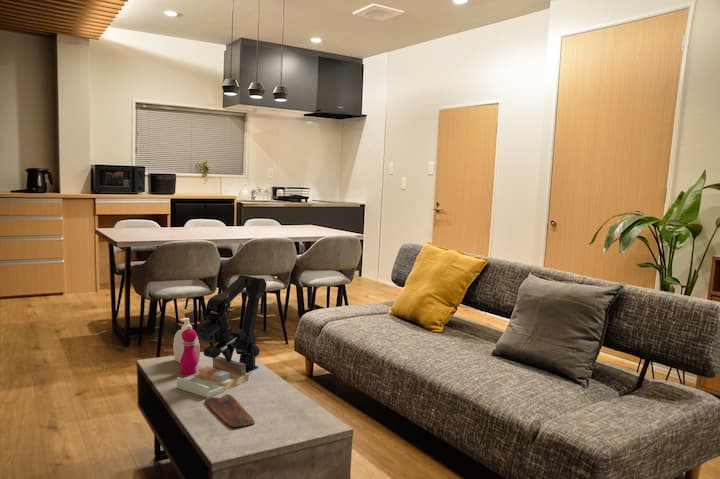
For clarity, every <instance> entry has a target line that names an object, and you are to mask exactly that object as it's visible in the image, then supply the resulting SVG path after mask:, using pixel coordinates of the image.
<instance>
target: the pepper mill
mask: <svg viewBox="0 0 720 479" xmlns="http://www.w3.org/2000/svg"><path fill="white" fill-rule="evenodd" d="M191 326H192V325H191ZM191 326H188V327H187V329H186V330H184V331H183V333H182V339H183V340H184V341H183V345H184V352H183V355H182V357H181V359H180V363H179V365H180V367H181V368H180V374H182V375H183V376H190V375H191V376H192V375H195V374H197V372H198V371H197V370H198V368H197V366H198V365H197V364H199V362H198V359H197V356H196V354H195V351H194V345H195V339H196V337H198V332H197V331H196V330H195V329H193V326H192V327H191ZM191 328H192V329H191Z"/></svg>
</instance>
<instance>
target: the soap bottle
mask: <svg viewBox="0 0 720 479" xmlns="http://www.w3.org/2000/svg"><path fill="white" fill-rule="evenodd" d="M179 321H180V322H184V323H183V325H182V326H181V328H180V329H179V330H177V331H176V333H175V334H174V338H173V342H172V343H173V344H172V345H173V346H172V348H173V355H174V361H175V362H178V363H179V364H180V359H181V357H182V355H183V352H184V345H183V341H184V340H183V339H182V333H183V331H184V330H186V329H187V327H188V326H191V327H192V328H191V329H193V326H192V325H191V324H190V318H189V317H183V318H181V319H179ZM194 351H195V354H196V356H197V359H198V364H199V363H200V362H199V361H200V357H201V347H200V340H199V336H197V337H196V339H195V345H194ZM198 364H197V365H196V366H198Z"/></svg>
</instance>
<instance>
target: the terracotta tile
mask: <svg viewBox="0 0 720 479" xmlns="http://www.w3.org/2000/svg"><path fill="white" fill-rule="evenodd" d="M198 373H199V375H200V376H203V377H206V378H207V377H210V376H213V373H215V368H213V366H208V365H206V366H204V367H201V368H198Z"/></svg>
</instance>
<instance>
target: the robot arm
mask: <svg viewBox="0 0 720 479" xmlns="http://www.w3.org/2000/svg"><path fill="white" fill-rule="evenodd" d="M266 288H267V281H266V280H265V279H264V278H263V277H254V276H250V275H246V274H240V275H238V276H237V279H235V280H234V282H232V283H231V284H230V285H229V286H228V287H227V288H226V289H224V290H223V292H221V293H217V294H214V295H213V296H211V297H210V298H209V299H208V300H207V304H206V307H205V309H204V310H205V311H204V315H203V318H205V320H203V321H202V322H200V324H199V325H200V326H198V328H197V331H196V333H197V335H198V337H200V338H201V339H202V340H203V341H204V342H205V343H211V342H213V343H214V344H216V343H217V344H216V345H213V344H210V345H208V346H207V347H205V348H204V349H203V355H204V357H207V358H211V359H213V358H216V357H217V356H219V357H220V355H221V354H222V355H223V358H226V359H227V361H231V360H232V358H233V354H234V351H235V353H236V355H239V361H238V362H240V363H243V364H246V371H245V372H250V371H251V372H252V371H253V370H256V369H258V368H259V366H257V365H256V357H258V356H259V354H260V351H261V349H260V348H259V347H258V345H257V338H256V335H255V325H256V320H257V315H258V308H259V303H260V299H261V298H262V297H263V296H264V295H265V291H266ZM244 290H245V292H246V295H247V300H246V304H245V305H246V306H245V311H244V312H245V313H244V318H243V323H242V329H240V328H237V327H236V328H234V329H233V328H232V327H230V323H229V319H228V318H229V317H228V315H229V314H230V313H231V310H230V309H229V308H230V307H231V303H232V301H233V300H234V299H235V298H236V297H238V295H240V293H242V291H244Z"/></svg>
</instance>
